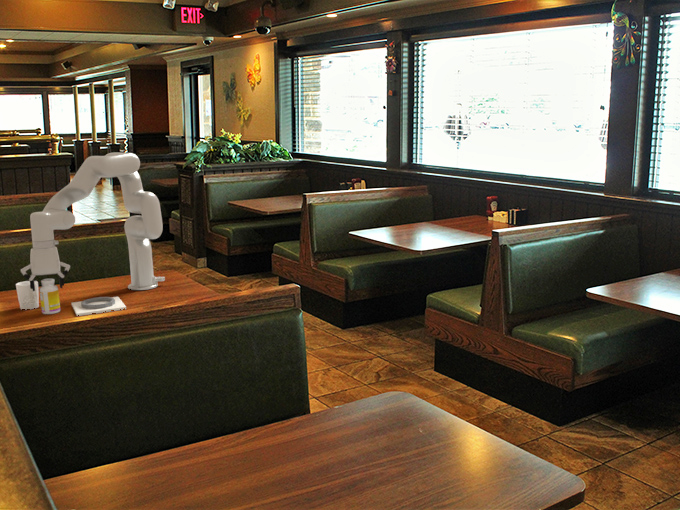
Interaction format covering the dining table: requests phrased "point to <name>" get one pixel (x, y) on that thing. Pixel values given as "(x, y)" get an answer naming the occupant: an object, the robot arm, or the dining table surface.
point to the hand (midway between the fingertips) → (47, 289)
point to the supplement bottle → (49, 297)
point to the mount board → (98, 305)
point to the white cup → (27, 295)
